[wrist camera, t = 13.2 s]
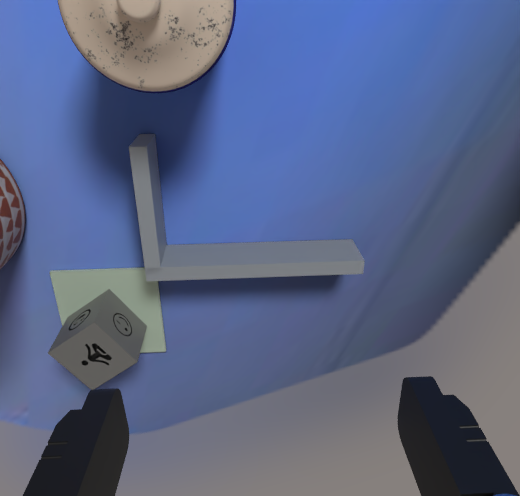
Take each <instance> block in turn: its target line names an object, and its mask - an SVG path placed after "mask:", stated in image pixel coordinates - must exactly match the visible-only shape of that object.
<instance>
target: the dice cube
mask: <svg viewBox="0 0 520 496" xmlns="http://www.w3.org/2000/svg"><path fill="white" fill-rule="evenodd" d="M146 328H147V325H146V324H145V323H144V322H143V321H142V320H141V319H139V318H138V317H137V316H136V315H135V314H134V313H133V312H132V311H131V310H130V309H129V308H128V307H127V306H126V305H125V304H124V303H123V302H122V301H121V300H120V299H119V298H118V297H117V296H116V295H115V294H114V293H113V292H112V291H111V290H110V289H108V290H107V291H105V292H104V293H102V294H101V295H99V296H98V297H96V298H95V299H93V300H92V301H91V302H89V303H88V304H86V305H85V306H83V307H82V308H80V309H79V310H77V311H76V312H74V313H73V314H72V315H70V316H69V317H67V319H66V321H65V323H64V325H63V326H62V328H61V330H60V332H59V334H58V335H57V337H56V339H55V341H54V343H53V345H52V346H51V348H50V350H49V352H48V354H49V355H51V356H52V357H53V358H54V359H55V360H57V361H58V362H59V363H60V364H61V365H63V366H64V367H65V368H66V369H67V370H68V371H70V372H71V373H72V374H73V375H74V376H76V377H77V378H78V379H79V380H80V381H82V382H83V383H84V384H85V385H86V386H87V387H89V388H90V389H91V390H94V389H95V388H97V387H99V386H100V385H102V384H103V383H105V382H106V381H108V380H110V379H111V378H113V377H114V376H116V375H118V374H119V373H121V372H122V371H124V370H126V369H127V368H129V367H130V366H132V365H134V364H135V363H137V362H138V358H139V354H140V351H141V347H142V343H143V340H144V336H145V332H146Z"/></svg>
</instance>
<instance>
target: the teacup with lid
mask: <svg viewBox="0 0 520 496" xmlns="http://www.w3.org/2000/svg"><path fill="white" fill-rule="evenodd" d="M58 5H59V9H60V13H61V16H62V19H63V22H64V25H65V27H66V29H67V31H68V34H69V36H70V37H71V39H72V41H73V43H74V44H75V46H76V47H77V49H78V50H79V52H80V53H81V54H82V55H83V57H84V58H85V59H86V60H87V61H88V62H89V63H90V64H91V65H92V66H93V67H94V68H95V69H96V70H97V71H98V72H100V73H101V74H102V75H104V76H105V77H107V78H108V79H110V80H111V81H113V82H115V83H117V84H119V85H121V86H124V87H126V88H129V89H132V90H135V91H140V92H146V93H165V92H171V91H176V90H179V89H182V88H185V87H187V86H189V85H191V84H193V83H195V82H196V81H198V80H199V79H201V78H202V77H203V76H205V75H206V74H207V73H208V72H209V71H210V70H211V69H212V68H213V67H214V66H215V65H216V63H217V62H218V61H219V59H220V58H221V56H222V54H223V53H224V51H225V49H226V47H227V45H228V43H229V40H230V37H231V34H232V31H233V26H234V21H235V14H236V0H58Z"/></svg>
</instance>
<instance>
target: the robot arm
mask: <svg viewBox="0 0 520 496" xmlns="http://www.w3.org/2000/svg"><path fill="white" fill-rule="evenodd" d="M398 430H399V435H400V439H401V442H402V445H403V447H404V450H405V453H406V455H407V458H408V461H409V464H410V466H411V469H412V471H413V474H414V477H415V480H416V483H417V485H418V488H419V490H420V493H421V496H519V494H518V492H517V491H516V489H515V487H514V486H513V484H512V482H511V480H510V479H509V477H508V475H507V473H506V472H505V470H504V468H503V466H502V465H501V463H500V461H499V460H498V458H497V456H496V455H495V453H494V451H493V449H492V447H491V446H490V444H489V442H487V441H486V437H485V435H484V433H483V432H482V430H481V428H479V426H478V423H477V422H476V420H475V418H474V416H473V415H472V413H471V411H470V409H469V408H468V407H467V406H465V404H463V403H462V402H461V401H460V400H459V399H458V398H457V397H456V396H454V395H443V394H442V393H441V391H440V389H439V387H438V385H437V383H436V381H435V380H434V378H433V377H408V378H404V379H403V383H402V390H401V398H400V404H399V411H398ZM128 444H129V428H128V423H127V418H126V413H125V409H124V404H123V400H122V395H121V392H120V390H119V389H96V390H91V391H90V392H89V394H88V396H87V398H86V400H85V403H84V405H83V407H82V409H81V410H70V411H69V412H68V413H67V414H66V415H65V416H64V417H63V418H62V420H61V421H60V422H59V423H58V424H57V425H56V426H55V429H54V431H53V433H52V435H51V437H50V439H49V441H48V446H46V448H45V450H44V452H43V454H42V456H41V457H42V458H41V460H39V462H38V465H37V467H36V469H35V471H34V473H33V475H32V477H31V479H30V481H29V484H28V486H27V488H26V490H25V492H24V494H23V496H115V493H116V489H117V486H118V482H119V479H120V475H121V471H122V468H123V464H124V461H125V457H126V454H127V449H128Z"/></svg>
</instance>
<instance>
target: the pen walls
mask: <svg viewBox="0 0 520 496" xmlns="http://www.w3.org/2000/svg"><path fill="white" fill-rule="evenodd" d="M129 153H130V160H131V168H132V175H133V183H134V190H135V198H136V205H137V213H138V221H139V228H140V236H141V243H142V251H143V258H144V266H145V273H146V281H172V280H201V279H230V278H258V277H287V276H316V275H344V274H363V269H364V259H363V257H362V255H361V254H360V252H359V250H358V248H357V247H356V245H355V243H354V241H353V240H352V239H345V240H312V241H280V242H247V243H215V244H183V245H167V242H166V233H165V223H164V214H163V204H162V195H161V186H160V176H159V167H158V157H157V148H156V138H155V134H139V135H138V136H137V137H136V139H135V140H134V141H133V142H132V144H131V145H130V146H129Z"/></svg>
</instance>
